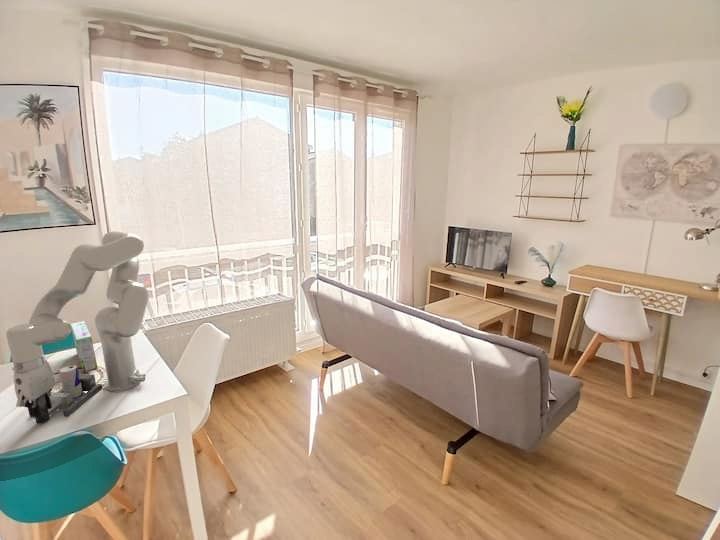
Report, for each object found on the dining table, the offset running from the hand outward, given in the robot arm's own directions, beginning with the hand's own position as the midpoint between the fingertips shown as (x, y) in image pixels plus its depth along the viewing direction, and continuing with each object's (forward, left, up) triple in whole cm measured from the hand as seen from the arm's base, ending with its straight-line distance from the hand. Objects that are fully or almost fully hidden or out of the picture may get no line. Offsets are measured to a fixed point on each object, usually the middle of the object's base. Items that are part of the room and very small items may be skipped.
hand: (41, 411), depth 125 cm
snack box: (+15, -41, -4) cm, 44 cm away
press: (0, -11, -4) cm, 12 cm away
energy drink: (0, -14, -4) cm, 14 cm away
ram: (0, -3, -3) cm, 5 cm away
